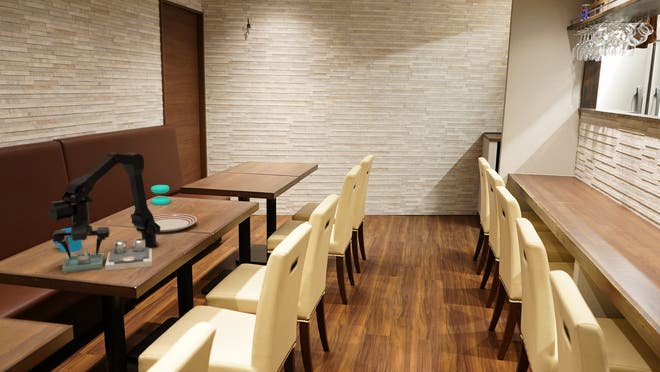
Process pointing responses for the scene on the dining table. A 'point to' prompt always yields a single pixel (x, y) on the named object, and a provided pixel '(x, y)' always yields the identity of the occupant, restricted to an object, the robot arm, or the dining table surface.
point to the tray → (72, 265)
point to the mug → (73, 244)
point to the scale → (129, 259)
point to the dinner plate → (174, 221)
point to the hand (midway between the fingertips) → (83, 256)
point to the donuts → (162, 199)
